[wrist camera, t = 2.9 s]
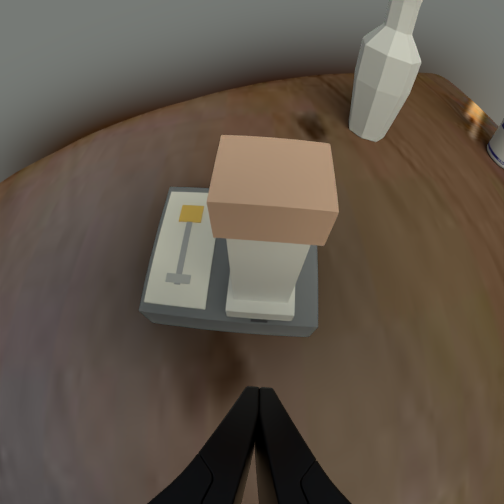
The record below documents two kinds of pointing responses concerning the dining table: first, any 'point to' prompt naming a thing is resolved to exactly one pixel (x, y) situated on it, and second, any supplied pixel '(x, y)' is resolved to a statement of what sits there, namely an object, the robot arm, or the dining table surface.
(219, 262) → the switch unit
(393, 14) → the faceted bottle
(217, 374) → the dining table surface
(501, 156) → the energy drink
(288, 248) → the slider knob
